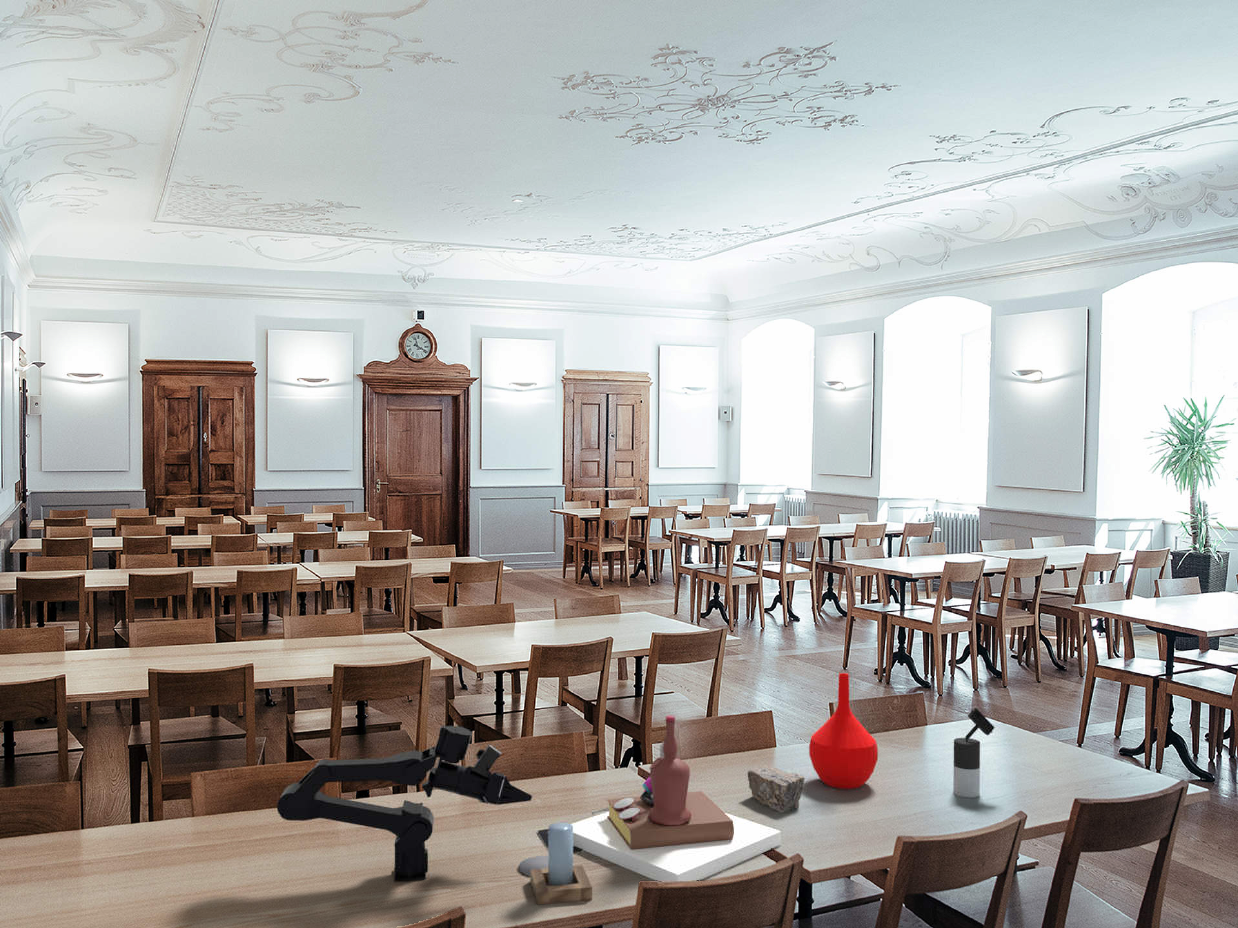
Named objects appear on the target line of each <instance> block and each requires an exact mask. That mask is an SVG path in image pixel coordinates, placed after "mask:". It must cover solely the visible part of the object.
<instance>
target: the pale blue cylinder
mask: <svg viewBox="0 0 1238 928" xmlns="http://www.w3.org/2000/svg"><path fill="white" fill-rule="evenodd" d="M571 824H572V823H567V822H554V823H552V824H549V826H548V829H549V844H548V849H547V850H548V855H547V856H548V885H547V886H555V885H567V884H574V883H573V866H574V853H573V826H572V825H571Z"/></svg>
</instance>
